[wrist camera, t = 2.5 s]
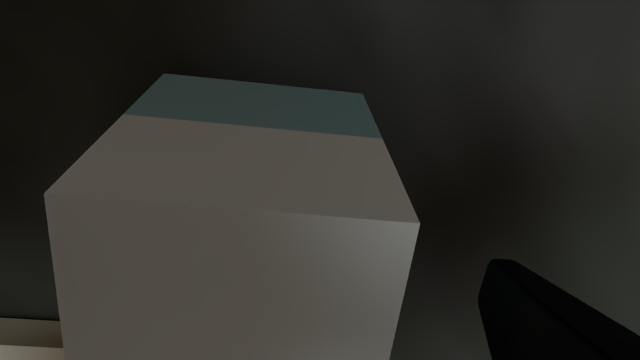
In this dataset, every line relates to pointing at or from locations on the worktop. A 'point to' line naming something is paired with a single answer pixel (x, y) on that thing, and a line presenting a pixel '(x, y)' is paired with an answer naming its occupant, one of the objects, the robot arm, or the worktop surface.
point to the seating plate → (30, 339)
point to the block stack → (232, 229)
